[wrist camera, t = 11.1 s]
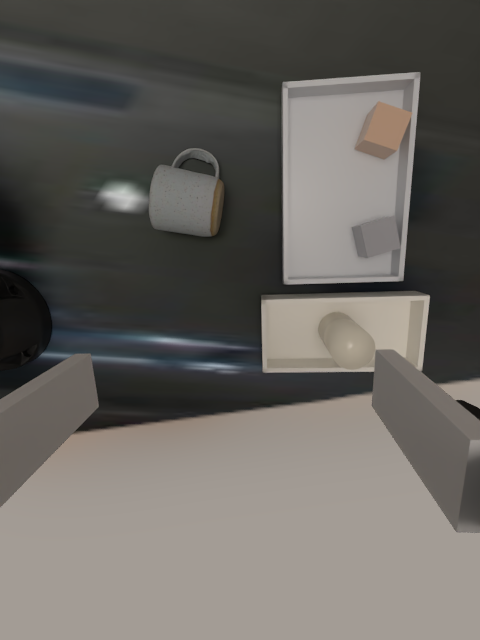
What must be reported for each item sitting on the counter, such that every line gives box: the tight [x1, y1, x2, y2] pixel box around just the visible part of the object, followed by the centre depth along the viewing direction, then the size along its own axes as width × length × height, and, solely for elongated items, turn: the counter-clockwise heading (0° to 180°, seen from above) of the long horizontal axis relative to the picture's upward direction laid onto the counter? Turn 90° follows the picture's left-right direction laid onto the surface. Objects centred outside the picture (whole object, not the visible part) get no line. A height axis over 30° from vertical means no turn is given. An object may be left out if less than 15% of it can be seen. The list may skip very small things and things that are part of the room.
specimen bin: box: [261, 291, 430, 373], centre depth 44 cm, size 21×10×4 cm, turn 92°
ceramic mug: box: [149, 148, 225, 237], centre depth 39 cm, size 11×8×8 cm
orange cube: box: [354, 101, 412, 159], centre depth 38 cm, size 4×4×4 cm
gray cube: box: [352, 215, 401, 258], centre depth 41 cm, size 4×4×4 cm
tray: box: [281, 72, 421, 284], centre depth 40 cm, size 15×23×3 cm, turn 2°
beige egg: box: [318, 312, 375, 370], centre depth 41 cm, size 5×5×9 cm
